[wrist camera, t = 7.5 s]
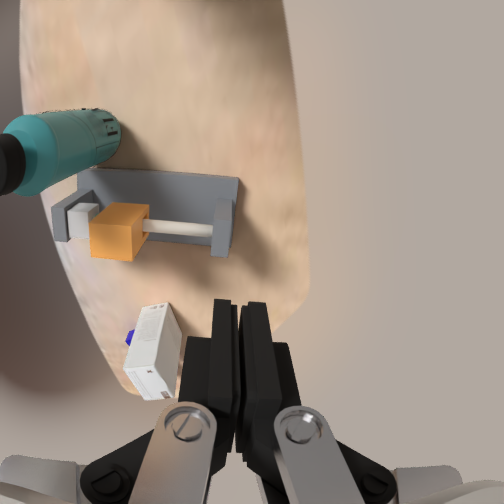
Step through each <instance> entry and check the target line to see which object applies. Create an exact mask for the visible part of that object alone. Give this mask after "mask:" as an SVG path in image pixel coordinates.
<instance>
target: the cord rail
mask: <svg viewBox="0 0 504 504" xmlns="http://www.w3.org/2000/svg"><path fill="white" fill-rule="evenodd" d="M238 182H239V178H238V177H228V176H218V175H207V174H195V173H182V172H168V171H152V170H132V169H105V168H89V169H85V170H83V171H81V172H80V173H77V190H78V191H76V192H75V193H73V194H71V195H70V196H68V197H66V198H65V199H63V200H62V201H60V202H58V203H57V204H55V205H54V206H52V207H51V212H52V223H53V233H54V241H60V242H68V241H69V240H70V239H71V238H80V239H90V238H89V224H88V223H89V222H90V221H91V220H92V219H94V218H95V217H96V216H97V215H98V214H99V213H100V212H102V211H103V210H104V209H105V208H106V207H108V206H109V205H110V204H111V203H112V202H118V203H133V204H147V205H149V219H143V231H145V232H149V235H148V237H147V238H146V240H152V241H163V242H174V243H184V244H195V245H206V246H211V255H210V256H215V257H226V258H228V250H229V248H231V242H232V233H233V225H234V216H235V207H236V199H237V190H238Z"/></svg>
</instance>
